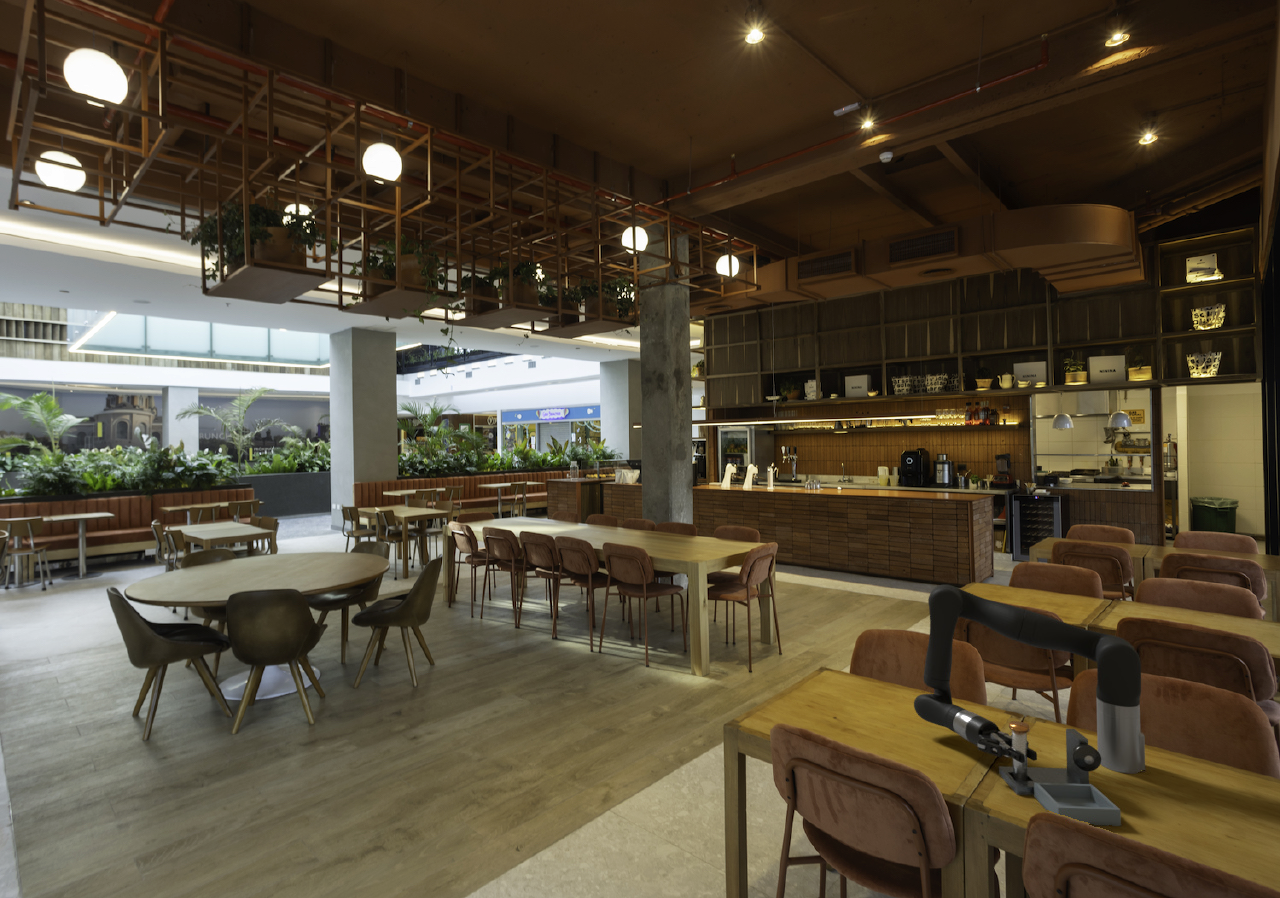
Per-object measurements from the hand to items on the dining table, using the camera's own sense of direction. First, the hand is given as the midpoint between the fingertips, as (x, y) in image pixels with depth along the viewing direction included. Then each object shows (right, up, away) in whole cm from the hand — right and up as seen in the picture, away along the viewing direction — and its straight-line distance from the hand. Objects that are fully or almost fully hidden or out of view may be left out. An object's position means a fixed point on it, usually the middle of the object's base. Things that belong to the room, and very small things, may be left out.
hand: (1029, 757), depth 160 cm
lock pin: (-1, -8, +3) cm, 8 cm away
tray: (+5, -8, -9) cm, 13 cm away
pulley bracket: (+5, -8, +2) cm, 10 cm away
